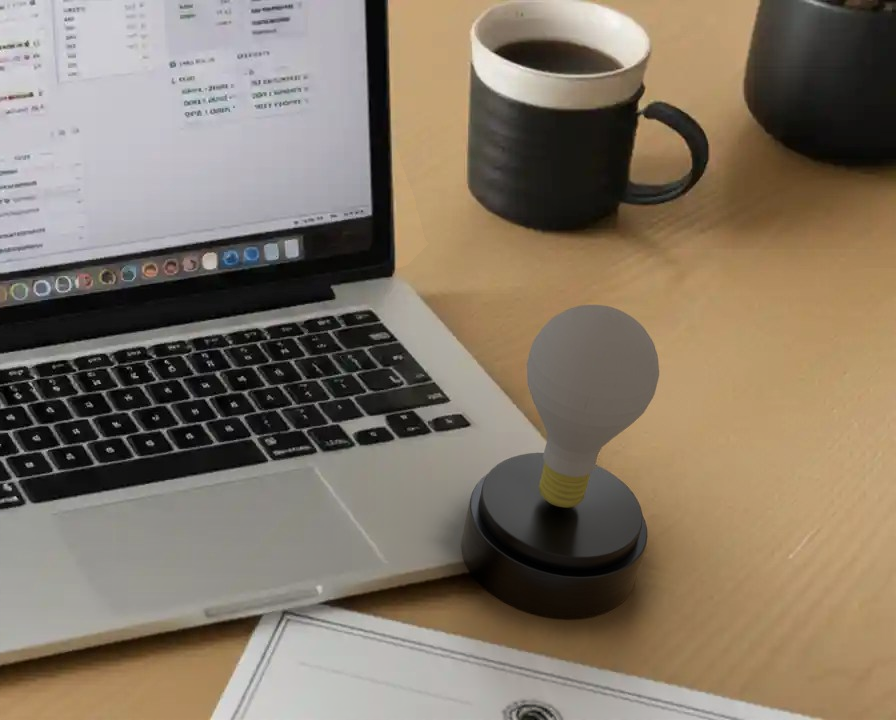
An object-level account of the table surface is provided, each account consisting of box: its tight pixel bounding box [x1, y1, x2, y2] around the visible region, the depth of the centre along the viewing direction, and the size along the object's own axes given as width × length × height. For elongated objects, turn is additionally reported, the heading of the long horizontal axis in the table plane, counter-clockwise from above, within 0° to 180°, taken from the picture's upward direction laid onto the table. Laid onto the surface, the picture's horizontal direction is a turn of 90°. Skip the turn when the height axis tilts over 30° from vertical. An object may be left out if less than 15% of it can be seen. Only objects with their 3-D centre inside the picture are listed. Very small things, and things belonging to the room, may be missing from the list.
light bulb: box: [526, 304, 660, 508], centre depth 71 cm, size 5×6×10 cm
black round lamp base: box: [460, 452, 648, 620], centre depth 75 cm, size 8×8×3 cm
